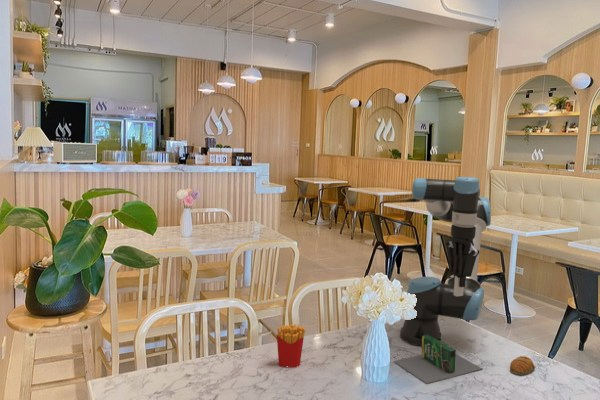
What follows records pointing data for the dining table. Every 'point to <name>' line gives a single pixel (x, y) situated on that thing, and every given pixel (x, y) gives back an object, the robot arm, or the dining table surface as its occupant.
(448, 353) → the coffee box
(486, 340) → the dining table surface
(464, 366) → the slate mat
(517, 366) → the pastry
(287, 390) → the dining table surface
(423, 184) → the robot arm
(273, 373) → the dining table surface
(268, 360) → the dining table surface
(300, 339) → the french fries
